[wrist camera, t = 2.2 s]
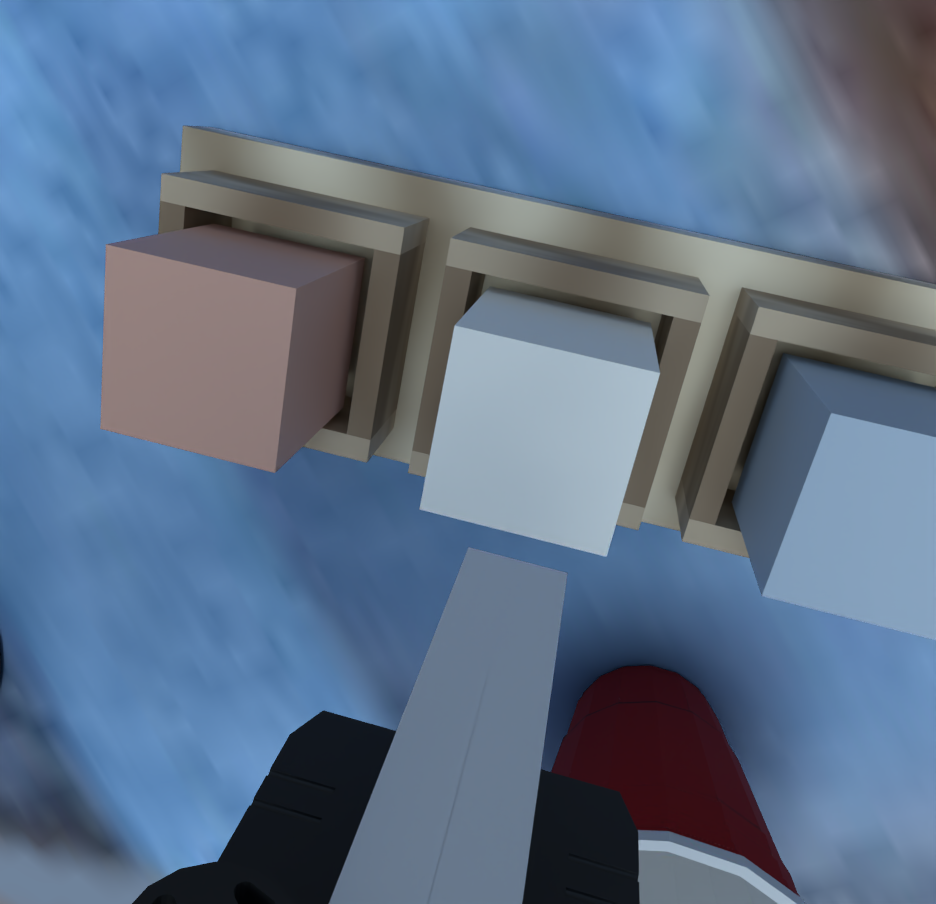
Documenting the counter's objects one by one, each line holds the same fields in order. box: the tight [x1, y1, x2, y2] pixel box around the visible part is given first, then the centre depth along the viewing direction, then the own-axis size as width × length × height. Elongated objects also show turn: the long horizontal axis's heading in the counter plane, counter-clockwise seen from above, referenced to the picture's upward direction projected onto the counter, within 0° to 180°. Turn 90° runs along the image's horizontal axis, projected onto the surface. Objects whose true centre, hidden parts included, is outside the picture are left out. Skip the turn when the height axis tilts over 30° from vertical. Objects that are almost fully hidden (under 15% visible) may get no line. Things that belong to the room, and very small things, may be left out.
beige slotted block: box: [158, 126, 936, 558], centre depth 28 cm, size 28×10×6 cm, turn 78°
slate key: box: [732, 353, 936, 640], centre depth 23 cm, size 5×5×6 cm
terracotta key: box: [100, 224, 365, 473], centre depth 24 cm, size 5×5×6 cm
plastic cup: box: [551, 665, 805, 904], centre depth 30 cm, size 11×11×12 cm
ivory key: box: [419, 286, 660, 557], centre depth 23 cm, size 5×5×6 cm
